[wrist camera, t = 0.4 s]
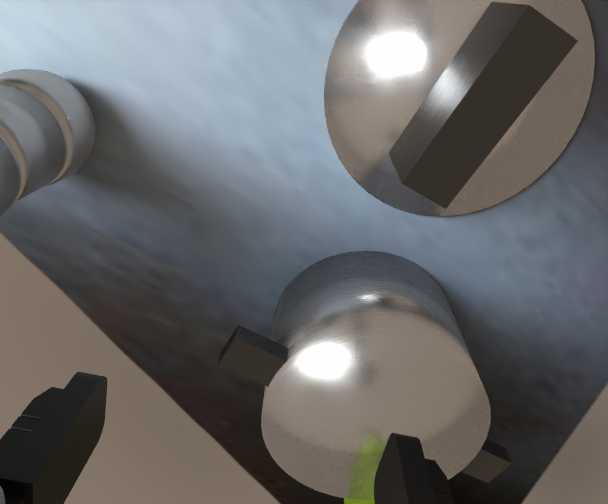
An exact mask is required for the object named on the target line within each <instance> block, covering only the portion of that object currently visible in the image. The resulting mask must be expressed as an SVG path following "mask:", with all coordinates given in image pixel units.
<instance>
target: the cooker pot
mask: <svg viewBox="0 0 608 504" xmlns="http://www.w3.org/2000/svg"><path fill="white" fill-rule="evenodd" d="M218 365H219V366H221V367H224V368H226V369H228V370H230V371H233V372H235V373H237V374H240V375H242V376H244V377H246V378H249V379H251V380H253V381H256V382H258V383H260V384H262V385H265V393H264V401H263V409H262V422H261V427H262V434H263V438H264V441H265V444H266V447H267V449H268V451H269V452H270V454H271V456H272V457H273V459H274V460H275V461H276V463H277V464H278V465H279V466H280V467H281V468H282V469H283V470H284V471H285V472H286V473H287V474H289V475H290V476H291V477H293V478H294V479H295V480H297V481H299V482H301V483H302V484H304V485H306V486H308V487H310V488H312V489H315V490H317V491H320V492H323V493H326V494H329V495H333V496H337V497H341V498H348V499H355V500H374V480H375V475H376V471H377V468H378V466H379V463H380V460H381V457H382V455H383V452H384V449H385V446H386V444H387V441H388V438H389V436H390V434H391V433H397V434H402V435H408V436H413V437H418V438H419V439H420V442H421V445H422V449H423V453H424V457H425V459H430V460H435V461H436V462H437V464H438V465H439V467H440V468H441V469H442V471H443V472H444V474H445V475H446V477H447V479H448V480H449V479H450V478H452V477H453V476H455V475H456V474H457V473H459V472H460V471H462V472H464V473H466V474H468V475H471V476H473V477H475V478H478V479H480V480H482V481H484V482H487V483H489V482H490V481H491V480H492V479H493V478H495V477H496V476H497V475H498V474H499V473H501V472H502V471H503V470H504V469H505V468H506V467H508V466H509V465H510V464H511V460H510V458H509V456H508V453H507V451H506V448H504V447H502V446H500V445H497V444H495V443H493V442H491V441H489V440H487V439H486V437H487V434H488V432H489V427H490V421H491V409H490V404H489V399H488V396H487V394H486V392H485V389H484V387H483V384H482V382H481V380H480V377H479V375H478V372H477V370H476V368H475V365H474V363H473V360H472V358H471V356H470V353H469V351H468V349H467V346H466V344H465V341H464V339H463V337H462V334H461V332H460V329H459V327H458V325H457V322H456V320H455V317H454V315H453V313H452V310H451V308H450V305H449V303H448V301H447V298H446V296H445V294H444V292H443V290H442V288H441V287H440V285H439V284H438V283H437V281H436V280H435V279H434V278H433V277H432V276H431V275H430V274H429V273H428V272H426V271H425V270H424V269H423V268H421V267H420V266H418V265H417V264H415V263H413V262H411V261H409V260H407V259H405V258H402V257H399V256H396V255H393V254H388V253H383V252H374V251H357V252H349V253H343V254H339V255H335V256H332V257H329V258H326V259H324V260H321V261H319V262H317V263H315V264H314V265H312V266H310V267H308V268H307V269H305V270H304V271H303V272H301V273H300V274H299V275H298V276H297V277H296V278H295V279H294V280H293V281H292V282H291V283H290V284H289V285H288V287H287V288H286V289H285V290H284V292H283V294H282V296H281V297H280V299H279V302H278V304H277V307H276V310H275V315H274V322H273V330H272V338H271V340H270V339H268V338H266V337H264V336H262V335H259V334H257V333H255V332H253V331H251V330H249V329H246V328H244V327H242V326H240V325H238V326H237V328H236V329H235V331H234V332H233V334H232V335H231V337H230V339H229V340H228V342H227V343H226V345H225V346H224V348H223V350H222V351H221V354H220V358H219V362H218Z"/></svg>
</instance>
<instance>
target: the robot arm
mask: <svg viewBox="0 0 608 504" xmlns="http://www.w3.org/2000/svg"><path fill="white" fill-rule="evenodd" d="M106 393H107V378H106V377H104V376H98V375H93V374H88V373H82V372H77V373H76V374H75V375H74V377H73V378H72V379H71V380H70V382H69V383H68V385H67V386H66V387H65V388H64V389H59V388H54V387H52V388H50V389H48V390H47V391H45V392H44V393H42V394H41V395H39V396H37V397H35V398H34V399H33V400H32V401H31V403H30V404H29V405H28V406H27V407H26V409H25V410H24V411H23V412H22V414H21V416H20V417H18V419H17V420H16V421H15V422H14V423H13V425H12V427H11V429H9V430H8V431H7V432H6V433H5V435H4V436H3V437H2V438H1V439H0V504H64V502H65V500H66V498H67V497H68V495H69V493H70V491H71V489H72V488H73V486H74V484H75V482H76V480H77V479H78V477H79V475H80V473H81V472H82V470H83V468H84V466H85V464H86V463H87V461H88V459H89V457H90V456H91V454H92V452H93V450H94V448H95V447H96V445H97V443H98V441H99V438H100V436H101V433H102V430H103V426H104V421H105V407H106ZM374 500H375V504H455V503H454V500H453V498H452V493H451V490H450V486H449V483H448V479H447V477H446V475H445V474H444V472H443V471H442V469H441V468H440V467H439V465H438V464H437V462H436V461H435V460H430V459H425V457H424V453H423V449H422V445H421V442H420V439H419V438H418V437H413V436H408V435H402V434H397V433H391V434H390V436H389V438H388V441H387V444H386V446H385V449H384V452H383V455H382V457H381V460H380V463H379V466H378V468H377V471H376V475H375V480H374Z"/></svg>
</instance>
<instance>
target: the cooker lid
mask: <svg viewBox="0 0 608 504" xmlns="http://www.w3.org/2000/svg"><path fill="white" fill-rule="evenodd" d="M594 65H595V51H594V39H593V34H592V29H591V24H590V21H589V18H588V15H587V12H586V10H585V7H584V5H583V3H582V1H581V0H358V2H357V3H356V4H355V5H354V7H353V8H352V10H351V11H350V13H349V15H348V16H347V18H346V19H345V21H344V22H343V25H342V27H341V29H340V31H339V33H338V35H337V37H336V39H335V42H334V45H333V48H332V50H331V53H330V56H329V60H328V65H327V70H326V75H325V86H324V107H325V117H326V122H327V128H328V132H329V135H330V138H331V141H332V144H333V147H334V149H335V151H336V153H337V155H338V157H339V159H340V161H341V162H342V164H343V165H344V167H345V168H346V170H347V171H348V173H349V174H350V175H351V176H352V177H353V179H354V180H355V181H356V182H357V183H358V184H359V185H360V186H361V187H362V188H364V189H365V190H366V191H367V192H368V193H369V194H371V195H372V196H374V197H375V198H377V199H378V200H380V201H382V202H384V203H386V204H388V205H390V206H392V207H394V208H397V209H400V210H403V211H406V212H409V213H414V214H419V215H426V216H455V215H461V214H467V213H472V212H475V211H479V210H482V209H486V208H488V207H491V206H493V205H496V204H498V203H500V202H502V201H504V200H506V199H508V198H510V197H512V196H514V195H515V194H517V193H518V192H520V191H521V190H523V189H524V188H526V187H527V186H529V185H530V184H531V183H532V182H534V181H535V180H536V179H537V178H538V177H539V176H541V175H542V174H543V173H544V172H545V171H546V170H547V169H548V168H549V167H550V166H551V165H552V164H553V163H554V161H555V160H556V159H557V158H558V157H559V155H560V154H561V153H562V151H563V150H564V149H565V147H566V146H567V145H568V143H569V141H570V140H571V138H572V136H573V135H574V133H575V131H576V130H577V127H578V125H579V123H580V121H581V119H582V117H583V115H584V112H585V109H586V106H587V103H588V100H589V97H590V93H591V88H592V83H593V78H594Z"/></svg>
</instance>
